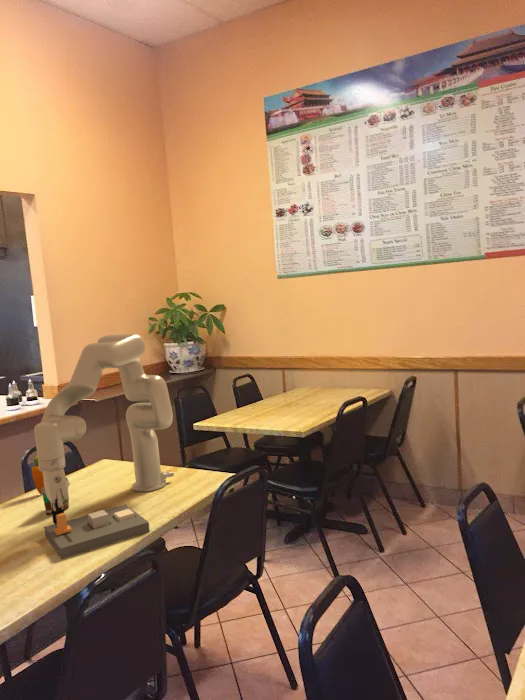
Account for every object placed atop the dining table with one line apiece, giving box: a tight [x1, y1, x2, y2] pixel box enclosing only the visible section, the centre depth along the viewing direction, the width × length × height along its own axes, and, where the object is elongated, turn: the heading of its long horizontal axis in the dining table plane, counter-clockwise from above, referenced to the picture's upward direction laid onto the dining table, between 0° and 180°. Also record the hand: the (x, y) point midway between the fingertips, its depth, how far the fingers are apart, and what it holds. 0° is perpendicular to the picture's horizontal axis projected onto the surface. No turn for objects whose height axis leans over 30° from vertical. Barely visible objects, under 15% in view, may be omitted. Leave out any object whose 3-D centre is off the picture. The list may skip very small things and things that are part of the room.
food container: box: [40, 476, 71, 516], centre depth 202 cm, size 12×6×10 cm, turn 168°
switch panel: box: [43, 504, 150, 560], centre depth 179 cm, size 26×20×3 cm
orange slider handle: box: [54, 512, 72, 535], centre depth 174 cm, size 4×4×5 cm
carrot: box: [31, 455, 45, 496], centre depth 219 cm, size 5×5×15 cm
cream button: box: [114, 509, 135, 522], centre depth 183 cm, size 5×5×4 cm
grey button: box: [87, 509, 109, 529], centre depth 179 cm, size 5×5×4 cm
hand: (59, 522), depth 177 cm, fingers closed
